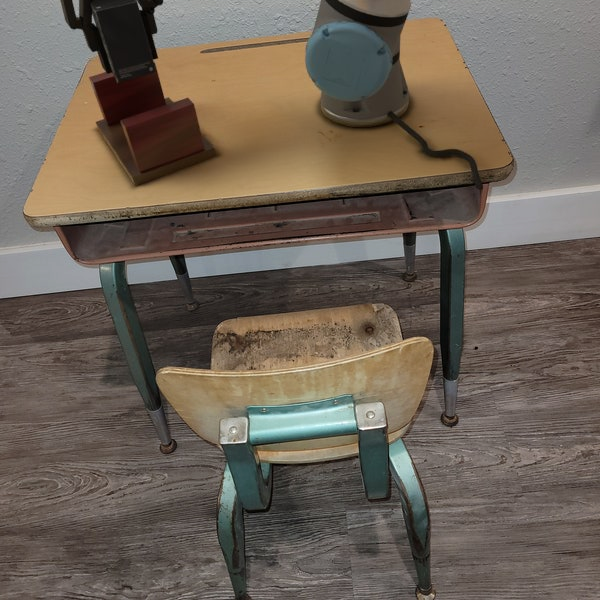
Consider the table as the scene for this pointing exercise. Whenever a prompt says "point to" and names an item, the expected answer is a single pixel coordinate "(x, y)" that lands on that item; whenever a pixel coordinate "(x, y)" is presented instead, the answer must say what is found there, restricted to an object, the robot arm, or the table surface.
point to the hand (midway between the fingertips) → (130, 62)
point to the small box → (123, 38)
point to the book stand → (148, 127)
